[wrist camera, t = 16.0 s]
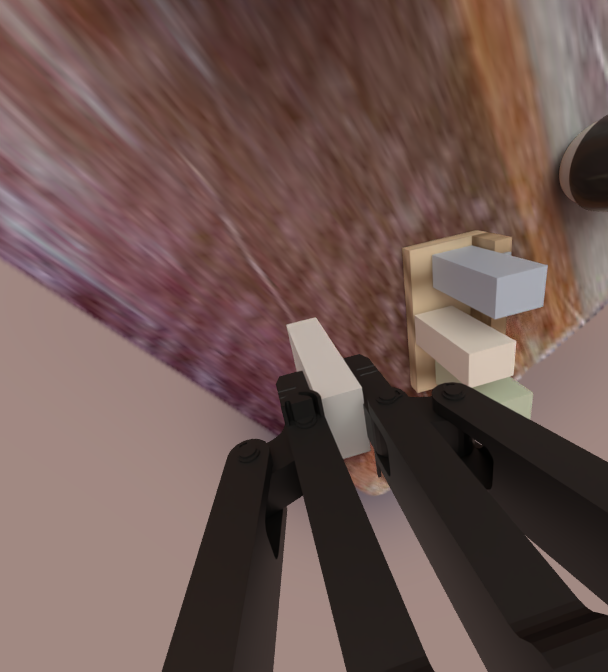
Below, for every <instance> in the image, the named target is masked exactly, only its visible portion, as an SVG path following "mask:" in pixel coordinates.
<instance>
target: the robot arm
mask: <svg viewBox="0 0 608 672" xmlns="http://www.w3.org/2000/svg"><path fill="white" fill-rule="evenodd" d="M286 326H287V331H288V335H289V339H290V344H291V348H292V352H293V357H294V361H295V366H296V370H297V372H294V373H291V374H287V375H283V376H280V377H279V378H278V381H277V383H276V386H277V391H278V395H279V399H280V403H281V409H282V413H283V417H284V421H285V426H284V429H283V431H282V432H281V433H280V434H279V435H278V436H277V437H276V438H275V439H273V440H272V441H270V442H268V443H266V442H265V441H263V440H260V439H250V440H246V441H243V442H241V443H240V444H238V445H236V446H235V447H234V448H233V449H232V450H231V451H230V453H229V455H228V457H227V460H226V464H225V467H224V470H223V473H222V476H221V480H220V483H219V486H218V489H217V493H216V496H215V499H214V503H213V506H212V509H211V512H210V516H209V519H208V522H207V525H206V529H205V532H204V535H203V539H202V542H201V545H200V548H199V551H198V555H197V558H196V561H195V565H194V568H193V571H192V575H191V578H190V581H189V584H188V587H187V591H186V594H185V597H184V600H183V604H182V607H181V610H180V614H179V617H178V620H177V624H176V627H175V630H174V633H173V637H172V640H171V643H170V646H169V649H168V653H167V656H166V659H165V662H164V666H163V669H162V672H273V665H274V654H275V642H276V631H277V619H278V608H279V597H280V586H281V574H282V563H283V551H284V540H285V529H286V517H287V505H289V504H291V503H292V502H294V501H295V500H297V499H298V498H300V497H301V496H303V497H304V501H305V505H306V509H307V513H308V517H309V521H310V525H311V529H312V533H313V537H314V541H315V545H316V549H317V553H318V557H319V562H320V566H321V570H322V574H323V577H324V582H325V586H326V590H327V594H328V598H329V602H330V606H331V610H332V614H333V618H334V622H335V626H336V630H337V634H338V638H339V642H340V646H341V650H342V654H343V658H344V663H345V667H346V670H347V672H434V670H433V668H432V667H431V665H430V663H429V661H428V658H427V656H426V654H425V651H424V649H423V647H422V644H421V642H420V640H419V637H418V635H417V632H416V630H415V628H414V625H413V623H412V621H411V618H410V616H409V614H408V612H407V609H406V607H405V604H404V602H403V600H402V597H401V595H400V592H399V590H398V588H397V586H396V583H395V581H394V578H393V576H392V573H391V571H390V569H389V566H388V564H387V562H386V560H385V557H384V555H383V552H382V550H381V548H380V545H379V543H378V540H377V538H376V536H375V533H374V531H373V529H372V526H371V524H370V522H369V519H368V517H367V514H366V512H365V510H364V508H363V505H362V503H361V500H360V498H359V496H358V493H357V491H356V489H355V486H354V484H353V481H352V479H351V477H350V474H349V472H348V470H347V467H346V465H345V463H344V460H343V459H345V458H348V457H351V456H355V455H358V454H361V453H365V452H368V451H371V450H370V442H371V444H372V446H373V447H374V452H375V460H376V467H377V474H378V477H381V471H382V473H383V475H384V477H385V479H386V481H387V482H388V484H389V486H390V488H391V490H392V492H393V494H394V496H395V498H396V499H397V501H398V503H399V505H400V507H401V509H402V511H403V512H404V514H405V516H406V518H407V520H408V522H409V524H410V526H411V528H412V530H413V531H414V533H415V535H416V537H417V539H418V541H419V543H420V545H421V547H422V548H423V550H424V552H425V554H426V556H427V558H428V560H429V561H430V564H431V565H432V567H433V569H434V571H435V573H436V575H437V577H438V579H439V580H440V582H441V584H442V586H443V588H444V590H445V592H446V594H447V595H448V597H449V599H450V601H451V603H452V605H453V607H454V609H455V611H456V613H457V614H458V616H459V618H460V620H461V622H462V624H463V625H464V628H465V629H466V631H467V633H468V635H469V637H470V639H471V641H472V643H473V645H474V646H475V648H476V650H477V652H478V654H479V656H480V658H481V660H482V662H483V663H484V665H485V667H486V669H487V671H488V672H608V615H605V614H601V613H597V612H593V611H591V610H590V609H588V608H587V607H585V605H584V604H583V603H582V602H581V601H580V600H579V599H578V598H577V597H576V596H575V594H574V593H573V592H572V591H571V590H570V589H569V587H568V586H567V585H566V584H565V583H564V582H563V580H562V579H561V578H560V577H559V575H558V574H557V573H556V572H555V571H554V569H552V567H551V566H550V565H549V564H548V562H547V561H546V560H545V559H544V558H543V556H542V555H541V554H540V553H539V552H538V550H537V549H536V548H535V547H534V546H533V544H532V543H531V542H530V541H529V540H528V538H529V539H530V540H531V541H533V542H534V543H535V544H536V545H538V546H539V547H540V548H541V549H542V550H543V551H544V552H546V553H547V554H548V555H549V556H550V557H552V558H553V559H554V560H555V561H556V562H558V563H559V564H560V565H561V566H562V567H563V568H565V569H566V570H567V571H568V572H569V573H571V574H572V575H573V576H574V577H575V578H576V579H578V580H579V581H580V582H581V583H582V584H584V585H585V586H586V587H587V588H588V589H589V590H591V591H592V592H593V593H594V594H595V595H597V596H598V597H599V598H600V599H601V600H603V601H604V602H605V603H606V604H607V605H608V462H606V461H605V460H603V459H601V458H599V457H597V456H595V455H593V454H592V453H590V452H588V451H586V450H585V449H583V448H581V447H579V446H577V445H575V444H574V443H572V442H570V441H568V440H566V439H564V438H563V437H561V436H559V435H557V434H555V433H553V432H552V431H550V430H548V429H546V428H544V427H542V426H541V425H539V424H537V423H535V422H533V421H531V420H530V419H528V418H526V417H524V416H522V415H521V414H519V413H517V412H515V411H513V410H511V409H510V408H508V407H506V406H504V405H502V404H500V403H499V402H497V401H495V400H493V399H491V398H489V397H488V396H486V395H484V394H482V393H480V392H478V391H477V390H475V389H473V388H471V387H469V386H467V385H464V384H462V383H456V382H448V383H443V384H439V385H437V386H436V387H435V388H434V389H433V391H432V396H430V397H408V395H407V394H406V393H405V392H404V391H402V390H401V389H398V388H395V387H391V386H390V384H389V383H388V382H387V381H386V379H385V378H384V377H383V376H382V374H381V373H380V372H379V371H378V369H377V368H376V367H375V366H374V364H373V363H372V362H371V361H370V359H369V358H367V357H365V356H363V355H360V354H358V355H354V356H351V357H347V358H342V356H341V355H340V353H339V352H338V350H337V349H336V347H335V346H334V344H333V343H332V341H331V340H330V338H329V337H328V335H327V334H326V332H325V331H324V329H323V327H322V326H321V324H320V323H319V321H318V320H317V318H316V317H315V318H311V319H307V320H303V321H299V322H295V323H292V324H288V325H286ZM369 440H370V442H369ZM475 440H476V441H478V442H479V443H480V444H482V445H480V444H479V443H477V442H476V441H475ZM525 535H526V536H527V537H528V538H527V537H526V536H525Z"/></svg>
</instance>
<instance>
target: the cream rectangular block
mask: <svg viewBox="0 0 608 672" xmlns="http://www.w3.org/2000/svg"><path fill="white" fill-rule="evenodd" d="M415 333H416V344H417V345H418V346H420V347H421V348H422V349H423V350H424V351H425V352H427V353H428V354H429V355H430V356H431V357H432V358H434V359H435V360H436V361H437V362H438V363H439V364H441V365H442V366H443V367H444V368H445V369H446V370H448V371H449V372H450V373H451V374H452V375H453V376H455V377H456V378H457V379H458V380H459V381H460V382H462V383H463V384H464V385H467V386H469V387H471V388H472V387H476V386H479V385H483V384H486V383H489V382H493V381H496V380H500V379H503V378H507V377H510V376H513V374H514V362H515V350H516V341H515V340H513V339H511V338H510V337H508V336H506V335H504V334H502V333H500V332H499V331H497V330H495V329H493V328H491V327H490V326H488V325H486V324H484V323H482V322H481V321H479V320H477V319H475V318H473V317H472V316H470V315H468V314H466V313H464V312H463V311H461V310H459V309H457V308H455V307H454V306H448V307H444V308H440V309H436V310H433V311H429V312H425V313H421V314H417V315H415Z"/></svg>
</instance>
